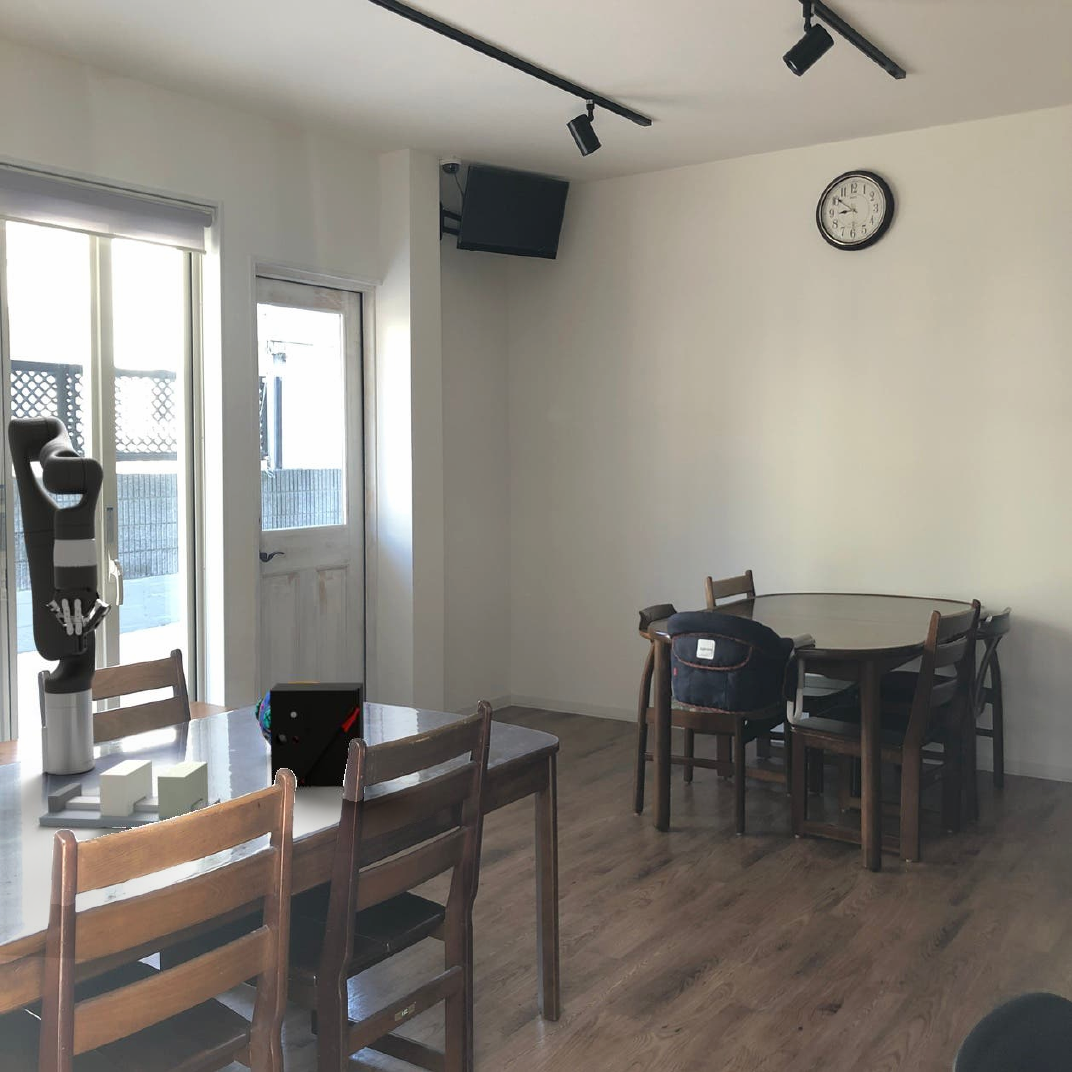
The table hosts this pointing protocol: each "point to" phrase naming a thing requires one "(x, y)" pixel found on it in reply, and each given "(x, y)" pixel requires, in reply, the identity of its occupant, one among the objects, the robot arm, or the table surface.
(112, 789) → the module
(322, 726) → the electrical component
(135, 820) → the mounting plate
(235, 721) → the table surface
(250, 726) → the table surface
